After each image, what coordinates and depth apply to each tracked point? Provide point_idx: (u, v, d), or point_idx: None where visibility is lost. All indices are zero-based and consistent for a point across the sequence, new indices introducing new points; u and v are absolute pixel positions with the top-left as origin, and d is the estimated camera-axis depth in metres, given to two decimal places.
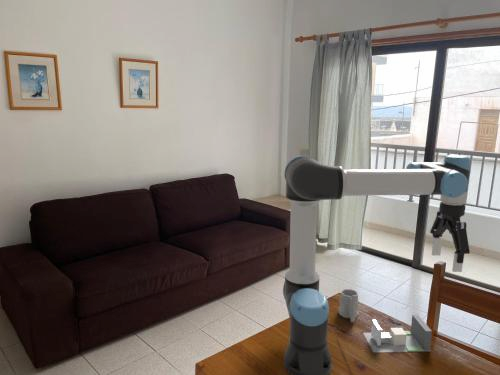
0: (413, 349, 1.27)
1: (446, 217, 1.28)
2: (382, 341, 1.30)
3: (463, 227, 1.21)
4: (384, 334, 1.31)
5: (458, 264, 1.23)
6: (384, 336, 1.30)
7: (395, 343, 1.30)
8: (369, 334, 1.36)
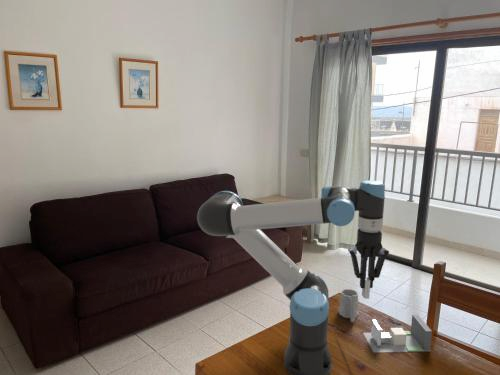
0: (413, 349, 1.27)
1: None
2: (382, 341, 1.30)
3: (351, 255, 1.24)
4: (384, 334, 1.31)
5: (363, 289, 1.27)
6: (384, 336, 1.30)
7: (395, 343, 1.30)
8: (369, 334, 1.36)
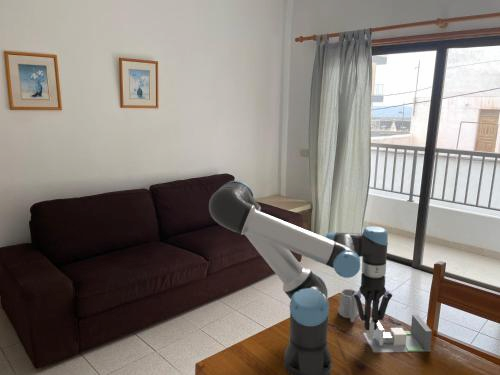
0: (413, 349, 1.27)
1: None
2: (384, 341, 1.30)
3: (355, 298, 1.27)
4: (387, 334, 1.31)
5: (368, 331, 1.30)
6: (386, 336, 1.30)
7: (395, 343, 1.30)
8: None
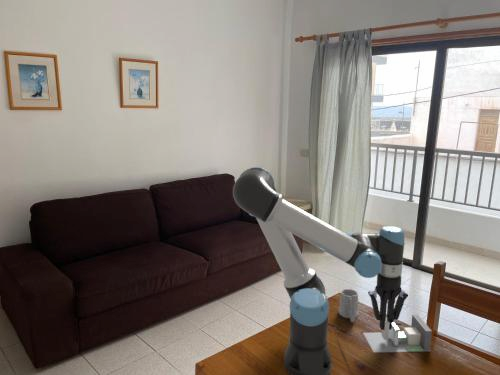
0: (413, 349, 1.27)
1: None
2: (399, 341, 1.30)
3: None
4: (401, 334, 1.31)
5: (383, 330, 1.31)
6: (401, 336, 1.30)
7: (409, 343, 1.30)
8: (369, 334, 1.36)
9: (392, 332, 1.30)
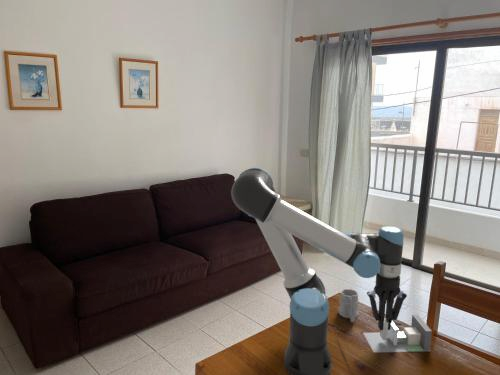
0: (413, 349, 1.27)
1: None
2: (398, 341, 1.30)
3: (370, 298, 1.27)
4: (400, 334, 1.31)
5: (381, 330, 1.31)
6: (400, 336, 1.30)
7: (409, 343, 1.30)
8: (369, 334, 1.36)
9: (391, 332, 1.30)
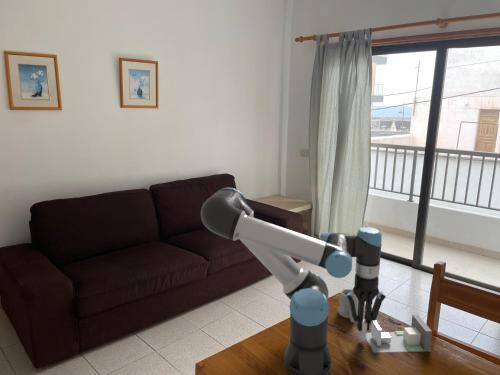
0: (413, 349, 1.27)
1: None
2: (382, 341, 1.30)
3: None
4: (384, 334, 1.31)
5: (360, 331, 1.31)
6: (384, 336, 1.30)
7: (409, 343, 1.30)
8: (369, 334, 1.36)
9: (375, 332, 1.30)
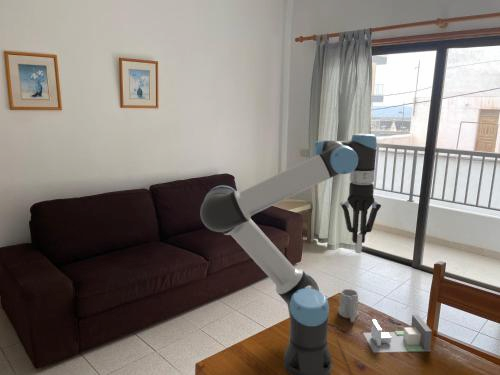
0: (413, 349, 1.27)
1: None
2: (382, 341, 1.30)
3: (343, 208, 1.25)
4: (384, 334, 1.31)
5: (356, 244, 1.28)
6: (384, 336, 1.30)
7: (409, 343, 1.30)
8: (369, 334, 1.36)
9: (375, 332, 1.30)
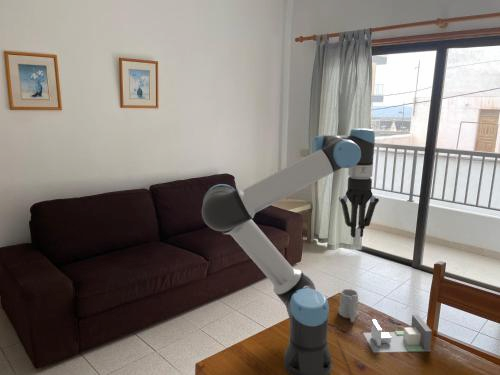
0: (413, 349, 1.27)
1: None
2: (382, 341, 1.30)
3: (341, 203, 1.25)
4: (384, 334, 1.31)
5: (354, 238, 1.29)
6: (384, 336, 1.30)
7: (409, 343, 1.30)
8: (369, 334, 1.36)
9: (375, 332, 1.30)
